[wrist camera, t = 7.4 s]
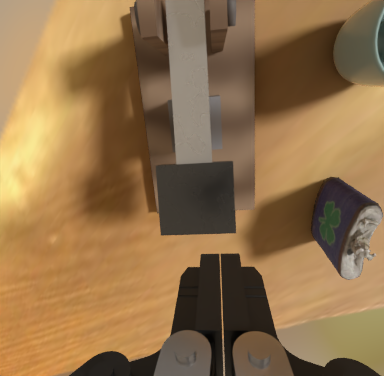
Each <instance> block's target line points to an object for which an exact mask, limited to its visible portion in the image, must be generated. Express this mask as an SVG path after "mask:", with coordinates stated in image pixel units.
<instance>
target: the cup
mask: <svg viewBox="0 0 384 376" xmlns="http://www.w3.org/2000/svg"><path fill="white" fill-rule="evenodd" d="M333 59H334V64H335V67H336V69H337V71H338V73H339V74H340V75H341V76H342V77H343V78H344V79H345V80H347V81H349V82H351V83H354V84H358V85H362V86H374V87H384V0H371V1H369V2H368V3H366V4H365V5H364V6H362V7H361V8H360V9H358V10H357V11H356V12H355V13H353V14H352V15H351V16H350V17H349V18H348V20H347V21H346V22H345V23H344V24H343V25H342V27H341V29H340V30H339V32H338V34H337V37H336V39H335V43H334V48H333Z"/></svg>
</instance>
